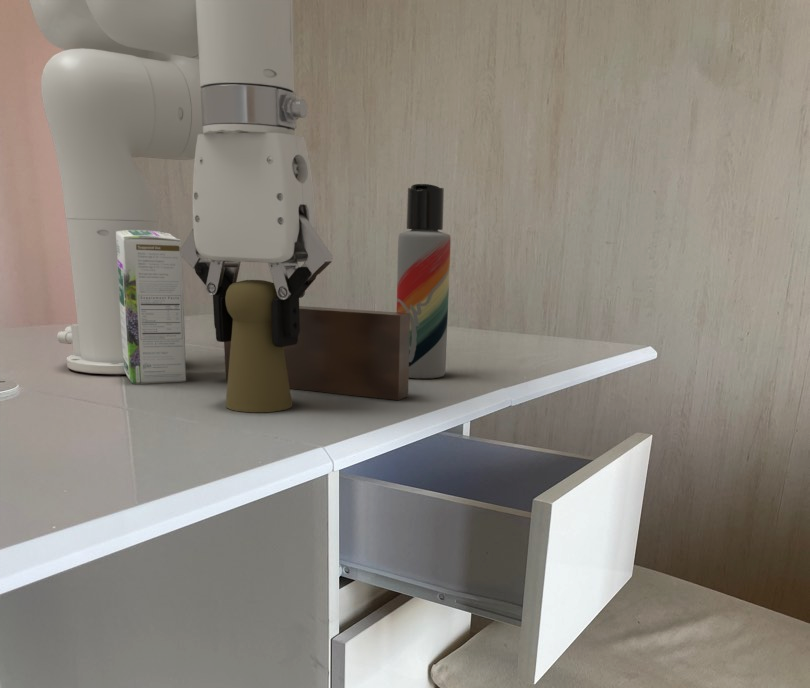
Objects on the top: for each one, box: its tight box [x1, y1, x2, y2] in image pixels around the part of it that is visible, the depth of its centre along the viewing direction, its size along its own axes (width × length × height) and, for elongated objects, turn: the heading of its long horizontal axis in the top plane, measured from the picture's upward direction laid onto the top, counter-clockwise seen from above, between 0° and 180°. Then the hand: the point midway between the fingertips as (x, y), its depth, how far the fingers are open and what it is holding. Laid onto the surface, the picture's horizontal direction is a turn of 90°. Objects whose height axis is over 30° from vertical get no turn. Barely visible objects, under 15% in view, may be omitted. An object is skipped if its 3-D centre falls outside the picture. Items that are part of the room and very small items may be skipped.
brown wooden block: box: [223, 305, 410, 401], centre depth 84 cm, size 20×2×8 cm, turn 66°
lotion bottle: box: [396, 183, 452, 380], centre depth 91 cm, size 6×6×20 cm
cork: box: [225, 279, 293, 413], centre depth 75 cm, size 6×6×11 cm
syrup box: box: [116, 230, 187, 385], centre depth 86 cm, size 6×6×14 cm
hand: (257, 340), depth 74 cm, fingers closed on cork, 5 cm apart
